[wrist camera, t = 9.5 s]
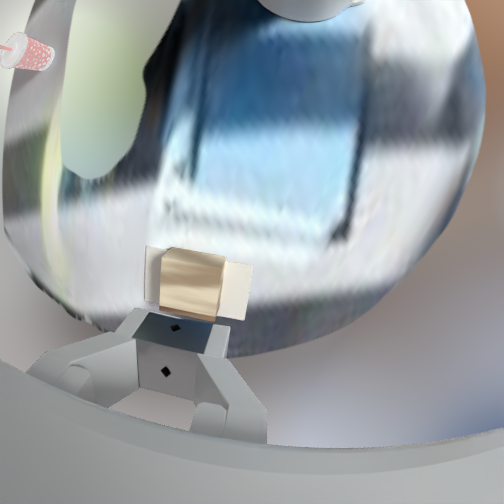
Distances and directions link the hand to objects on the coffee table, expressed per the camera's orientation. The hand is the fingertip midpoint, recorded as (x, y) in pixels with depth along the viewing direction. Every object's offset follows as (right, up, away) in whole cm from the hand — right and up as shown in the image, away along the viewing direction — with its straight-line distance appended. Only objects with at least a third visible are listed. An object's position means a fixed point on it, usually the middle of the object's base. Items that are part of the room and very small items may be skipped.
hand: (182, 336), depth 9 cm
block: (-6, +2, +32) cm, 32 cm away
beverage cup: (-33, +36, +26) cm, 55 cm away
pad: (-6, -2, +36) cm, 37 cm away
